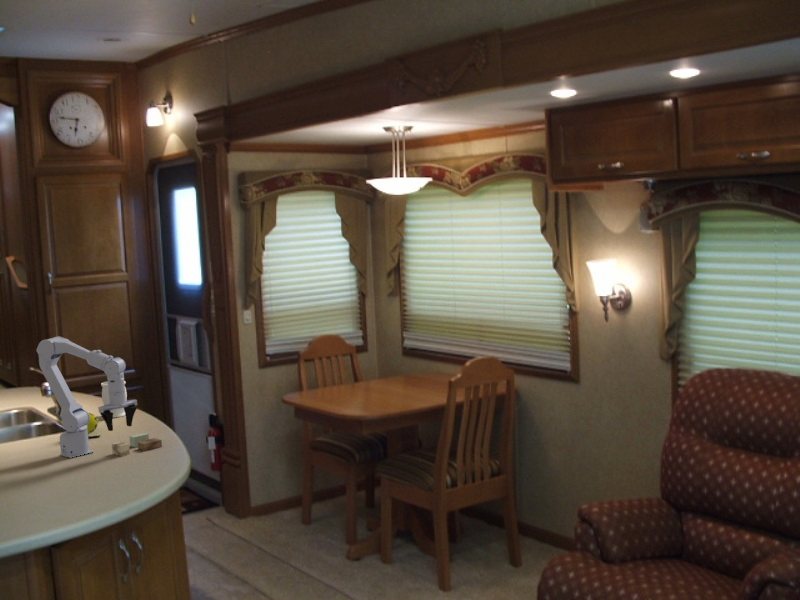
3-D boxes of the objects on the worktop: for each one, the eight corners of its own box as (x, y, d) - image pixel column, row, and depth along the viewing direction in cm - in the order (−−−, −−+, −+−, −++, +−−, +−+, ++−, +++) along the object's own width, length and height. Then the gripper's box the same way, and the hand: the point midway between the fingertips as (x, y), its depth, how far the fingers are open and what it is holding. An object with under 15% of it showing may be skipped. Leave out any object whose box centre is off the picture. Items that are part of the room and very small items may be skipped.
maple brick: (129, 454, 329) (128, 443, 329) (121, 456, 326) (120, 445, 326) (121, 452, 333) (120, 441, 333) (112, 454, 331) (111, 443, 330)
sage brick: (135, 447, 338) (134, 437, 338) (130, 446, 341) (129, 436, 340) (149, 444, 343) (148, 434, 342) (144, 443, 345) (143, 432, 345)
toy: (81, 435, 381) (75, 440, 352) (77, 412, 381) (71, 415, 353) (103, 431, 384) (99, 436, 355) (100, 408, 384) (95, 411, 355)
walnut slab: (145, 451, 332) (144, 443, 332) (138, 449, 336) (137, 441, 336) (162, 447, 337) (161, 439, 337) (155, 445, 341) (154, 437, 340)
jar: (102, 415, 399) (99, 381, 397) (126, 412, 403) (123, 379, 401) (105, 419, 389) (102, 385, 388) (130, 416, 393) (127, 382, 392)
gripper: (104, 396, 320) (107, 433, 321) (140, 389, 331) (143, 425, 332) (94, 394, 325) (97, 431, 326) (130, 387, 336) (133, 423, 337)
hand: (119, 428), depth 330 cm, fingers open, 7 cm apart
